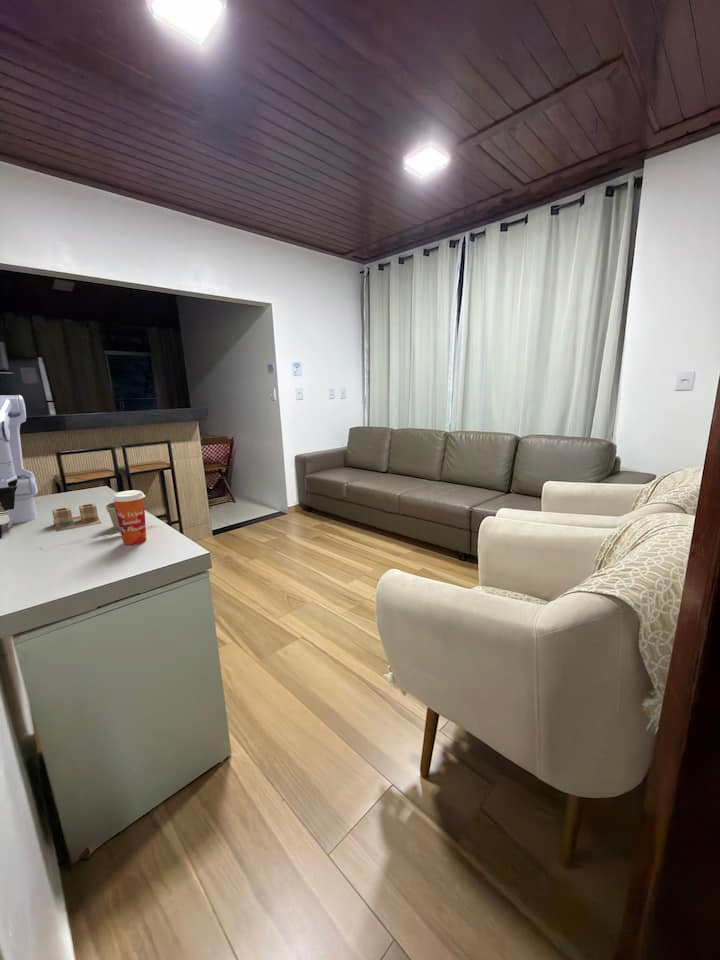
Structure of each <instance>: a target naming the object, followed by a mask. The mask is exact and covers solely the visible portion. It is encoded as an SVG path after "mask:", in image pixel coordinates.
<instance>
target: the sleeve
mask: <svg viewBox="0 0 720 960" xmlns="http://www.w3.org/2000/svg"><path fill="white" fill-rule="evenodd" d="M51 512H52V516H53V518H52V519H53V521H54V522H53V524H54V523H55V525H56V527H61V526H66V525H71V524H73V519H72V517H73V515H72V514H73V513H72V509H71V508H70V507H69V506H66V507H60V508H54V509H51Z"/></svg>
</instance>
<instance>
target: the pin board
mask: <svg viewBox="0 0 720 960" xmlns="http://www.w3.org/2000/svg"><path fill="white" fill-rule="evenodd" d="M99 518H100V517H98V520H95V521H89V522H82V520H81V516H80V515H79V516H72V519H73V524H71V525H66V526H61V527H56V525H55V523H54V520H53V525H54V530H55V532H56V533H57V532H62V531H67V530H68V531H69V530H73V529H74V530H75V529H78V528H83V527H89V526H95V525H101V524H102V521H101V520H100V519H99Z"/></svg>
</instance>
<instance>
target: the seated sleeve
mask: <svg viewBox="0 0 720 960" xmlns="http://www.w3.org/2000/svg"><path fill="white" fill-rule="evenodd" d="M78 509H79V514H80V515H79V516H81V520H82V522H89V521H95V520H98V518H99V514H98V510H97V505H96V504H95V503H94V502H92V503H87V504H86V503H84V504H81V505H78Z"/></svg>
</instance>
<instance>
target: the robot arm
mask: <svg viewBox="0 0 720 960" xmlns="http://www.w3.org/2000/svg"><path fill="white" fill-rule="evenodd" d="M26 421H27V411H26V403H25V399H24V397H23V396H22V395H21V394H16V395H6V394H5V395H3V394H2V395H0V505H1V507H2V508H3V511H7V516H8V526H7V527H8V528H9V529H12V527H13V524H23V523H28V522H31V521H35V520H37V519H38V514H37V508H36V503H35V498H34V496H36V495H37V494H38V493H39V492H38V490H39V488H38V483H37V480H36V476H35V474H34V473H33V472H32V471H31V470H27V469H25V468H24V461H23V451H22V442H21V434H20V433H21V432H20V430H21V424H23V423H25V422H26Z"/></svg>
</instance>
